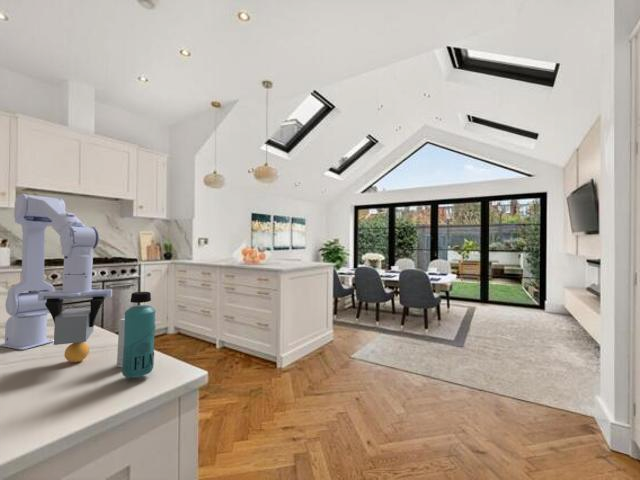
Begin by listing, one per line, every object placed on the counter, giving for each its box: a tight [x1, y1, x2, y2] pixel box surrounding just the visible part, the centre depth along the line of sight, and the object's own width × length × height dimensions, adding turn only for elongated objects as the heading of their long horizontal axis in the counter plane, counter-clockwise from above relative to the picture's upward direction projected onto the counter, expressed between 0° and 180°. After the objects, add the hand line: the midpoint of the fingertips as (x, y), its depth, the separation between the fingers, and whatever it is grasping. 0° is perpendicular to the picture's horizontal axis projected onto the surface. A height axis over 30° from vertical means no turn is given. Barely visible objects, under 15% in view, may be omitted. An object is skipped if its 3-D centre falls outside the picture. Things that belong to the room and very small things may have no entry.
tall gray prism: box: [53, 307, 95, 346], centre depth 76 cm, size 10×6×6 cm, turn 29°
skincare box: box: [116, 317, 125, 368], centre depth 78 cm, size 6×4×12 cm
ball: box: [64, 342, 90, 363], centre depth 78 cm, size 5×5×5 cm
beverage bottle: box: [121, 291, 157, 378], centre depth 70 cm, size 6×7×20 cm
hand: (75, 327), depth 76 cm, fingers closed on tall gray prism, 6 cm apart
